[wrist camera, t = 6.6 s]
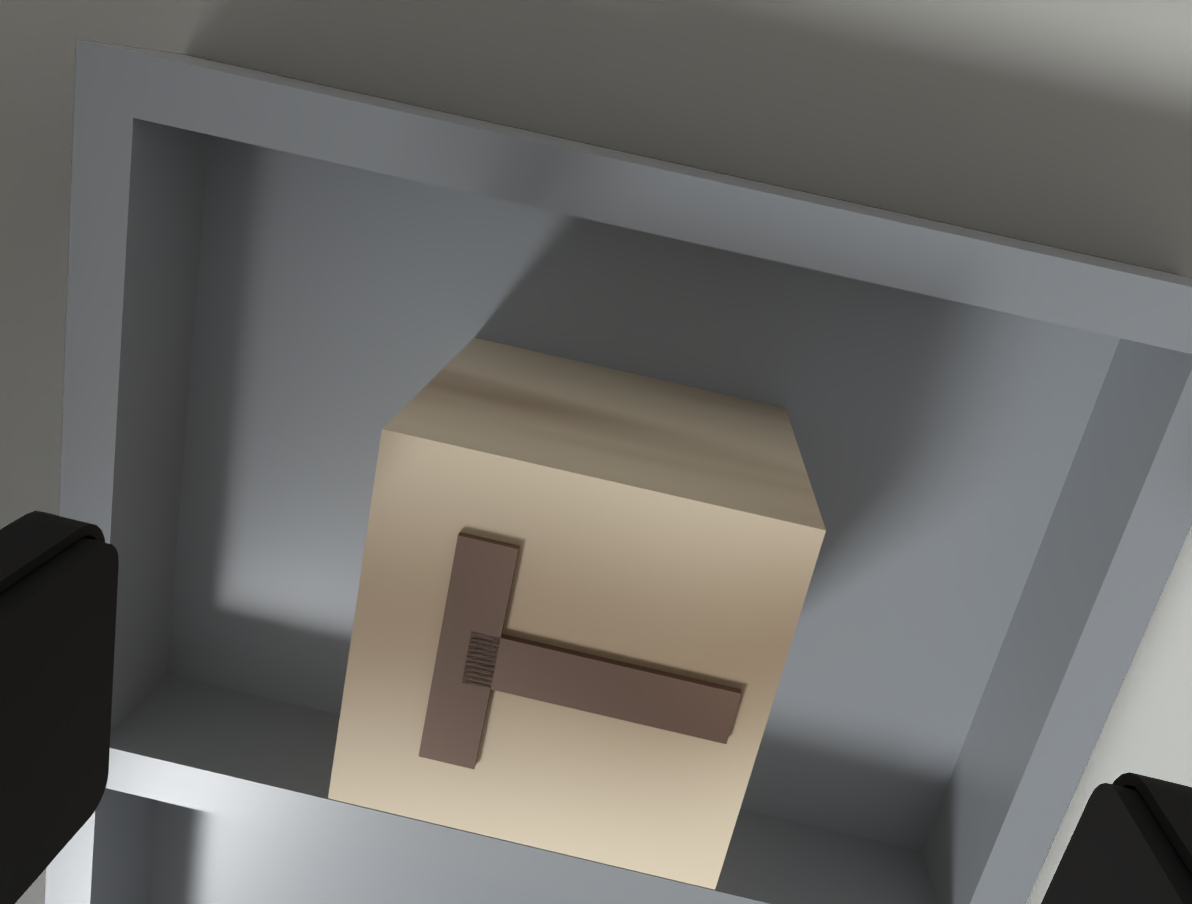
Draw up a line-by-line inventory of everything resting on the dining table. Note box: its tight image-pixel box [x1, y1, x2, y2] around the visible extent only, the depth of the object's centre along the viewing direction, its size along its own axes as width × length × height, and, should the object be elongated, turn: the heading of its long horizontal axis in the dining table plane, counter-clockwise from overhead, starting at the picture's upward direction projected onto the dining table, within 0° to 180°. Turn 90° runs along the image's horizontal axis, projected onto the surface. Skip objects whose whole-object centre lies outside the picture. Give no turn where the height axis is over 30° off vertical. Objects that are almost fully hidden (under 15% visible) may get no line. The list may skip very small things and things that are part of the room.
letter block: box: [328, 338, 826, 890], centre depth 14 cm, size 5×5×5 cm
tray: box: [45, 40, 1192, 904], centre depth 18 cm, size 22×16×3 cm
